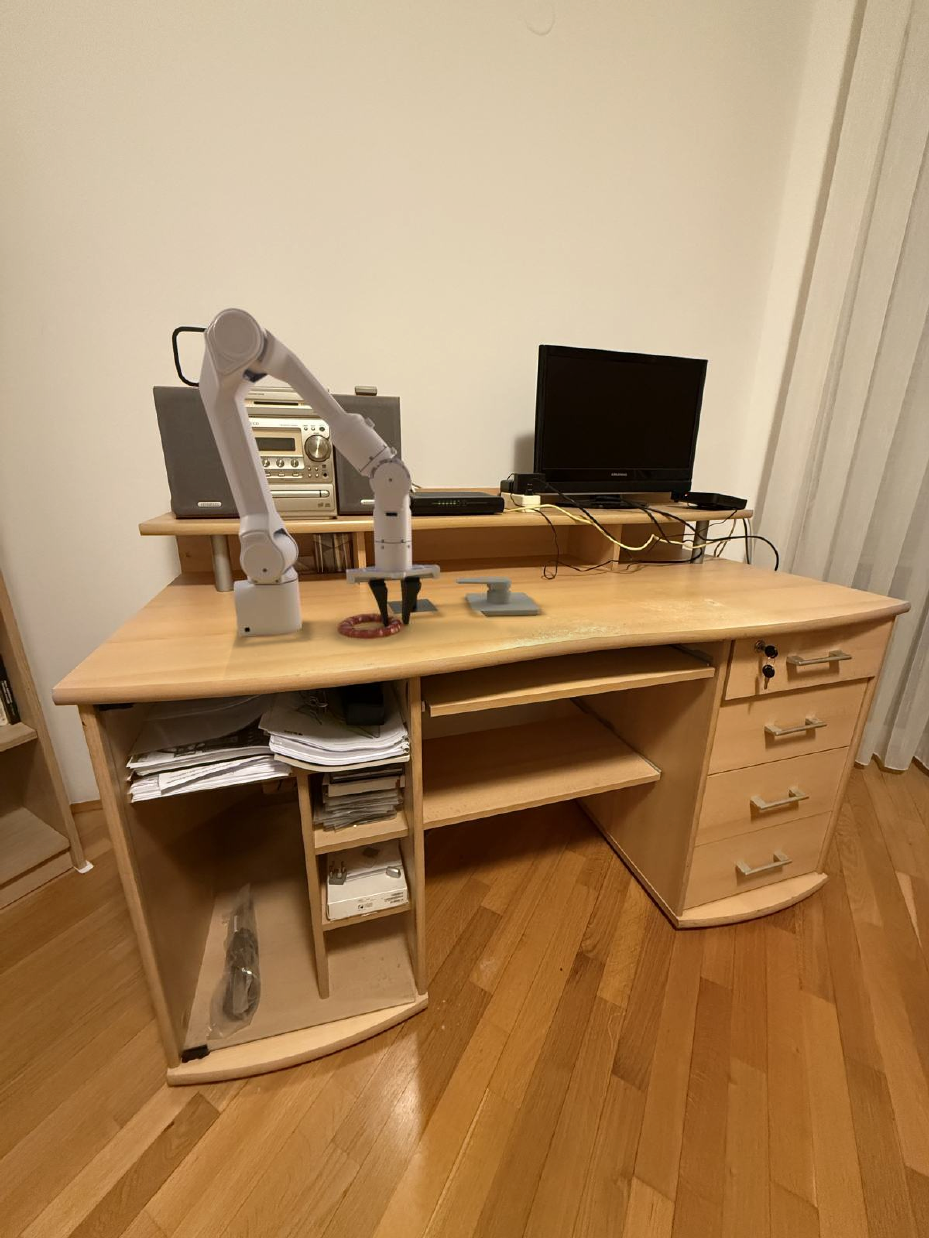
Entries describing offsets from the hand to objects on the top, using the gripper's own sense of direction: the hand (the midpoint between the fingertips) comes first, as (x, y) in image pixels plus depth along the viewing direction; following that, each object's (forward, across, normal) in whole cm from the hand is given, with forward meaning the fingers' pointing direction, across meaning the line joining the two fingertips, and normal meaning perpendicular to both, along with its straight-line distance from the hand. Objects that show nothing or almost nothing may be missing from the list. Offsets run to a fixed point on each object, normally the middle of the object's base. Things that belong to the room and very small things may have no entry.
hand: (395, 623), depth 80 cm
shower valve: (+1, +21, +9) cm, 23 cm away
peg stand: (+1, +5, +10) cm, 11 cm away
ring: (0, -4, 0) cm, 4 cm away
